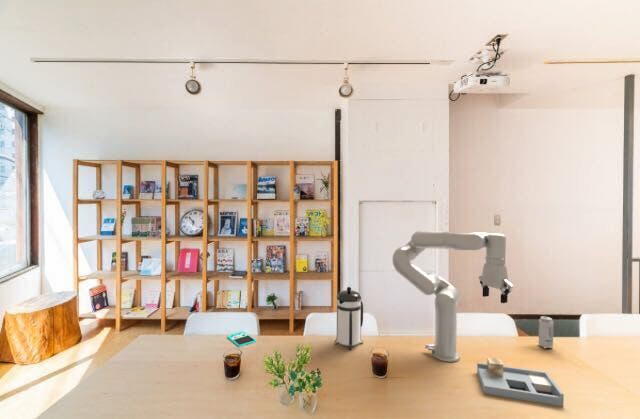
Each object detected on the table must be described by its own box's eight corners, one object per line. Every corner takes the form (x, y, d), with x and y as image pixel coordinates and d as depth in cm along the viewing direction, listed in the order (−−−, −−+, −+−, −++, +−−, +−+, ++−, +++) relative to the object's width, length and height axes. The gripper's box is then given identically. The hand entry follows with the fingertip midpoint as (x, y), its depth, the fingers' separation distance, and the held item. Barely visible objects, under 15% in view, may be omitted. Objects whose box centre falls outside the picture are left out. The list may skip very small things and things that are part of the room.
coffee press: (366, 351, 159) (367, 291, 158) (334, 350, 159) (335, 290, 158) (362, 336, 176) (363, 282, 176) (333, 336, 176) (334, 282, 176)
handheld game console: (243, 332, 181) (243, 330, 181) (257, 342, 169) (257, 340, 169) (226, 337, 175) (226, 335, 175) (239, 348, 162) (239, 345, 162)
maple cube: (489, 375, 132) (489, 363, 132) (486, 368, 137) (487, 357, 136) (503, 377, 130) (503, 364, 130) (500, 370, 135) (500, 359, 135)
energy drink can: (548, 350, 160) (548, 320, 160) (535, 345, 166) (536, 316, 166) (555, 348, 163) (556, 319, 162) (543, 343, 168) (543, 315, 168)
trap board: (484, 393, 124) (484, 382, 124) (477, 372, 139) (477, 362, 139) (563, 406, 116) (563, 394, 116) (546, 382, 132) (546, 372, 132)
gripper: (473, 258, 149) (472, 294, 150) (506, 265, 133) (504, 306, 133) (486, 257, 151) (485, 293, 152) (519, 264, 135) (518, 304, 136)
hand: (494, 299), depth 143 cm, fingers open, 9 cm apart
